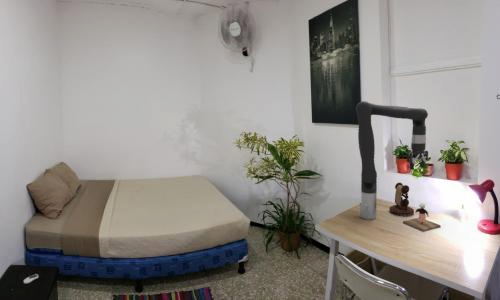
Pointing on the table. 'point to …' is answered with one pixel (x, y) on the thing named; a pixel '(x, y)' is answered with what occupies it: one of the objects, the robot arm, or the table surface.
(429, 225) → the walnut board
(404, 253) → the table surface
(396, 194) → the brown wooden statue
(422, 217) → the grandmother figurine
